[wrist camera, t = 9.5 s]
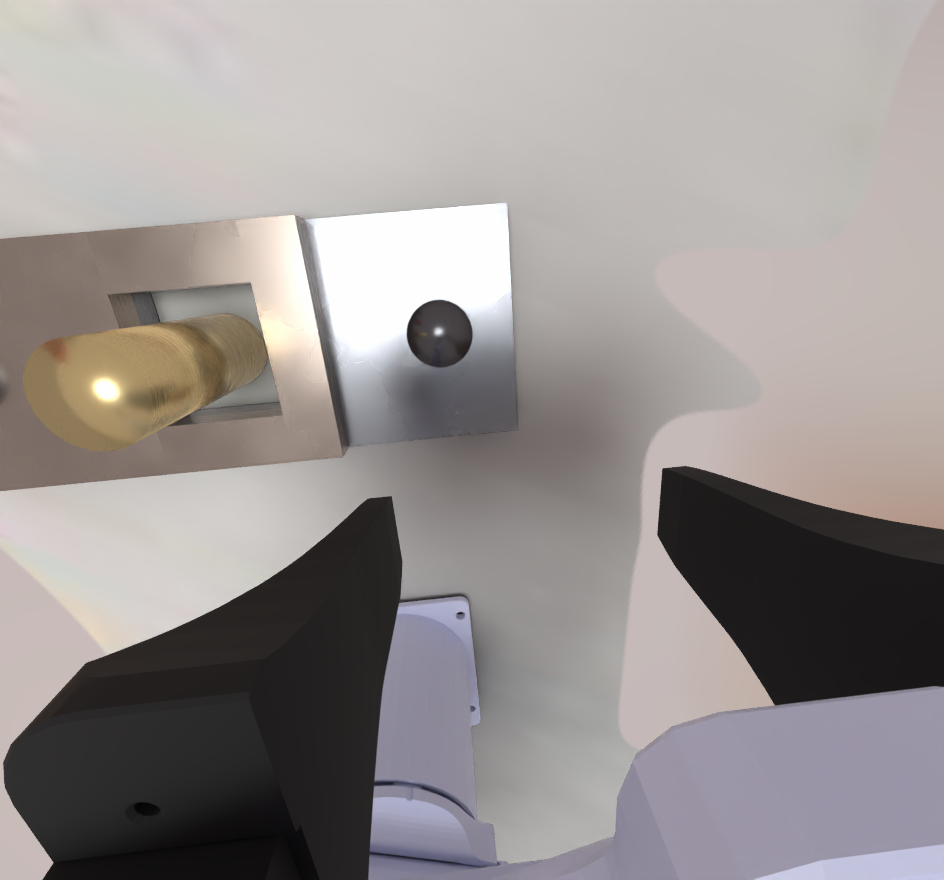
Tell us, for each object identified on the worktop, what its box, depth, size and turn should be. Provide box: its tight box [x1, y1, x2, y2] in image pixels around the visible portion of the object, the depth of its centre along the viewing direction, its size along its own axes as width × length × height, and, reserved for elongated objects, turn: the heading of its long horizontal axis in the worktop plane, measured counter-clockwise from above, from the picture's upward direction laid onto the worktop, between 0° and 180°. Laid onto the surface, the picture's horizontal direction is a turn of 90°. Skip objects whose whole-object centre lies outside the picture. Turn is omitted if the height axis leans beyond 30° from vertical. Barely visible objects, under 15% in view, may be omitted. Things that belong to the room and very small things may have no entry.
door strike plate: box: [0, 203, 518, 491], centre depth 17 cm, size 24×9×3 cm, turn 95°
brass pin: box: [23, 314, 267, 451], centre depth 15 cm, size 3×3×8 cm
